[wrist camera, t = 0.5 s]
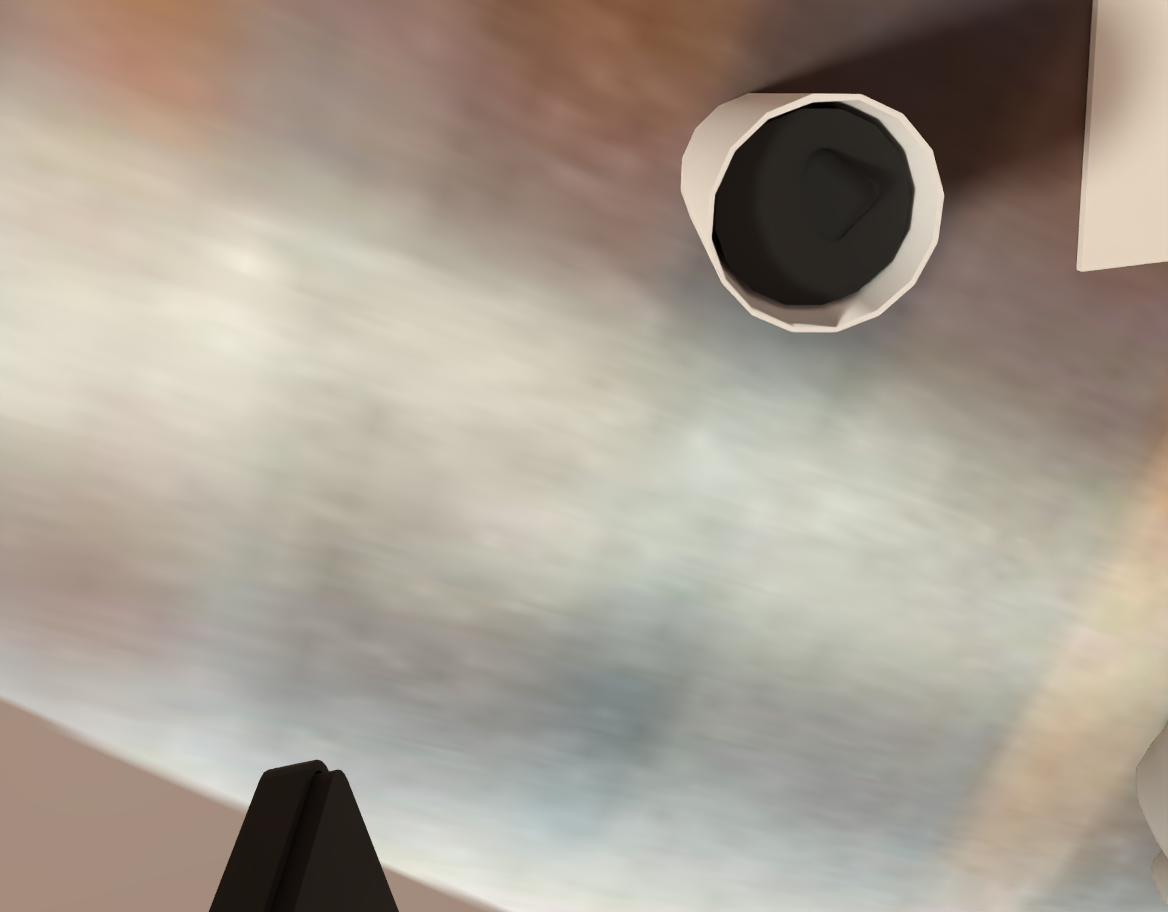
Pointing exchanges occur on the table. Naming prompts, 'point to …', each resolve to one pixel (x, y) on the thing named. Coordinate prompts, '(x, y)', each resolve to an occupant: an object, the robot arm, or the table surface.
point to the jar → (1156, 803)
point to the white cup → (813, 205)
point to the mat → (1125, 137)
